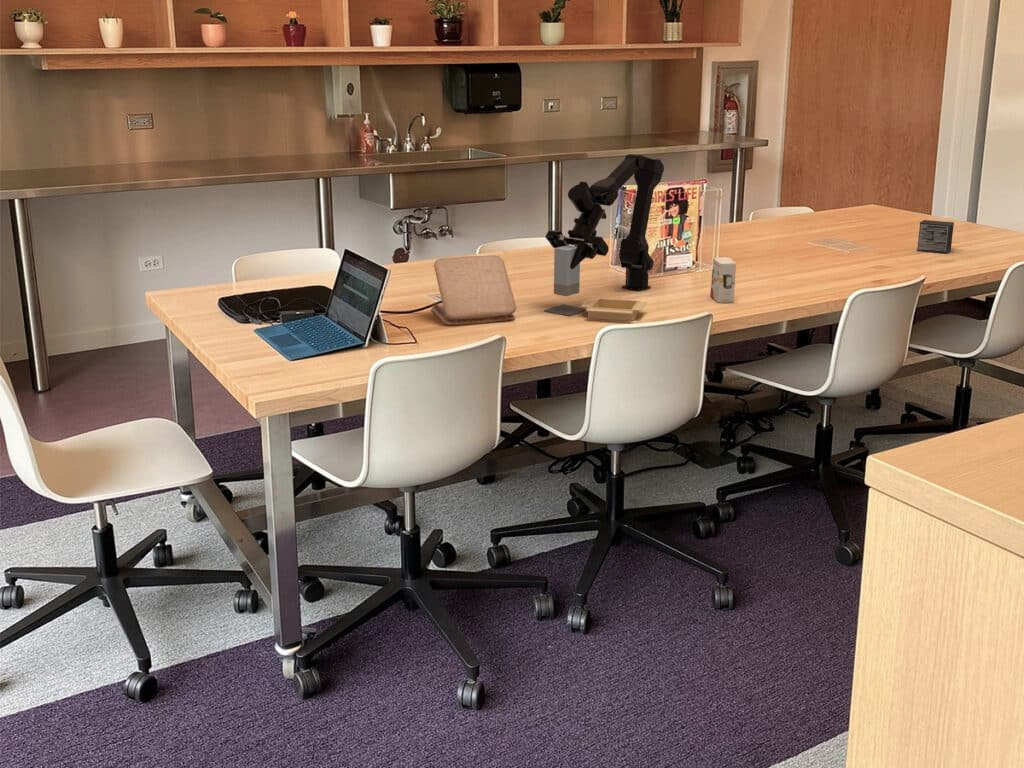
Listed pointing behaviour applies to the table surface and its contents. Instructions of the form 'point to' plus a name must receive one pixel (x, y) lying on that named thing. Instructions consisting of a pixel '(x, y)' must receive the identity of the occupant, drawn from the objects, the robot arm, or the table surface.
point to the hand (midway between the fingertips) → (564, 267)
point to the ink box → (723, 280)
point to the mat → (566, 310)
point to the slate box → (565, 272)
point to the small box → (935, 236)
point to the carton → (613, 308)
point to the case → (473, 290)
